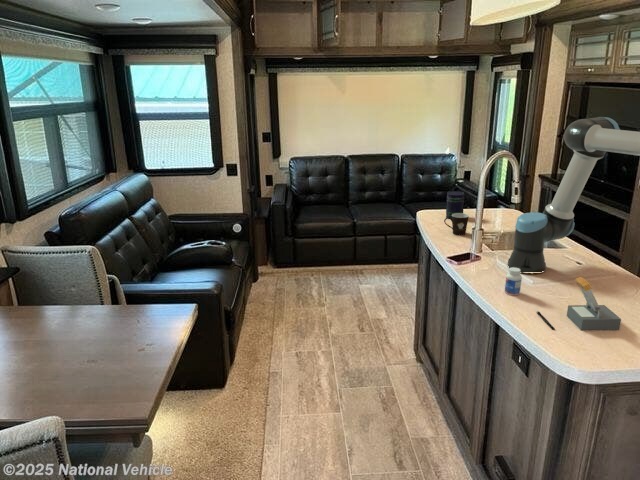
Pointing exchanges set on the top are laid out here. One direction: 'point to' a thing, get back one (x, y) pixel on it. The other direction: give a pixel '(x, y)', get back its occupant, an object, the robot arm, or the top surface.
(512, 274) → the pill bottle
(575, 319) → the switch box
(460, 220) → the coffee mug
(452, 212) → the storage jar
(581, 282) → the lever
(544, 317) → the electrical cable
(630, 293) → the top surface
